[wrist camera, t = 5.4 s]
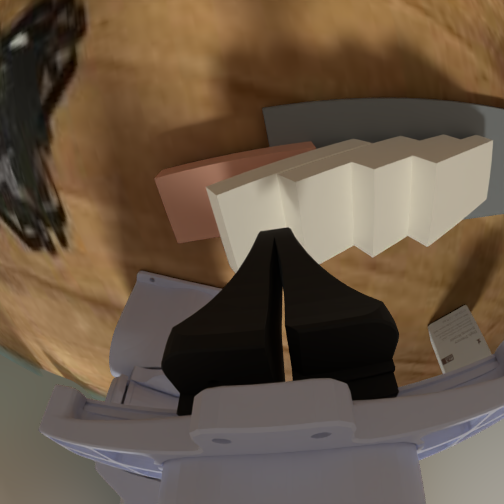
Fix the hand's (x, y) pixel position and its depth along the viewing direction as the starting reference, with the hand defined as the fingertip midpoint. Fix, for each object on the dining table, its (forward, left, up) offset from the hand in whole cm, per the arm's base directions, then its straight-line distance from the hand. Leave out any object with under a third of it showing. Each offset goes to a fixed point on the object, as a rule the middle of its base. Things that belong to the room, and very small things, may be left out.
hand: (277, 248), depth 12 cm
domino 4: (+15, +7, -7) cm, 18 cm away
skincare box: (+26, -10, -9) cm, 30 cm away
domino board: (+12, +6, -8) cm, 16 cm away
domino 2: (+9, +4, -7) cm, 12 cm away
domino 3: (+12, +6, -7) cm, 15 cm away
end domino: (+3, +1, -7) cm, 7 cm away
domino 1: (+6, +3, -7) cm, 9 cm away
